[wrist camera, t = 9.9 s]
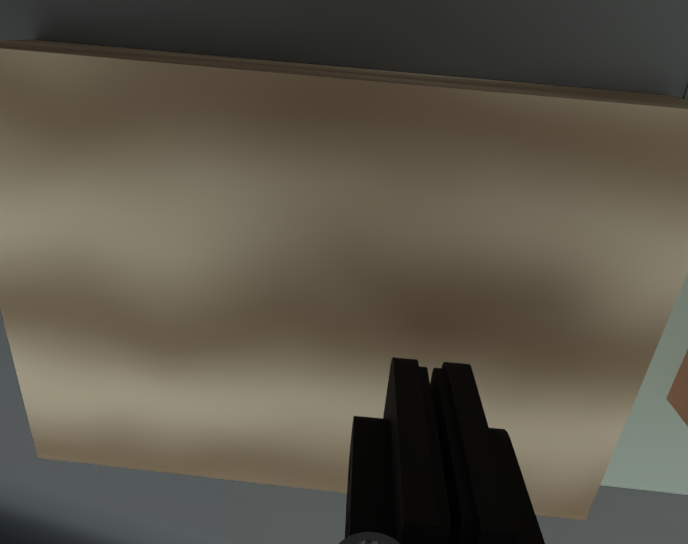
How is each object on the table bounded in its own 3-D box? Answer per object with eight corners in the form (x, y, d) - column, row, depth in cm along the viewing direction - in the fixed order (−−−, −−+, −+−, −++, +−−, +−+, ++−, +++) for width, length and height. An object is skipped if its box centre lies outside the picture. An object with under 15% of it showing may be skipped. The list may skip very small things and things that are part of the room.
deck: (33, 39, 16) (-67, 43, 13) (667, 95, 16) (752, 114, 12) (93, 388, 22) (38, 457, 19) (551, 438, 22) (585, 520, 18)
